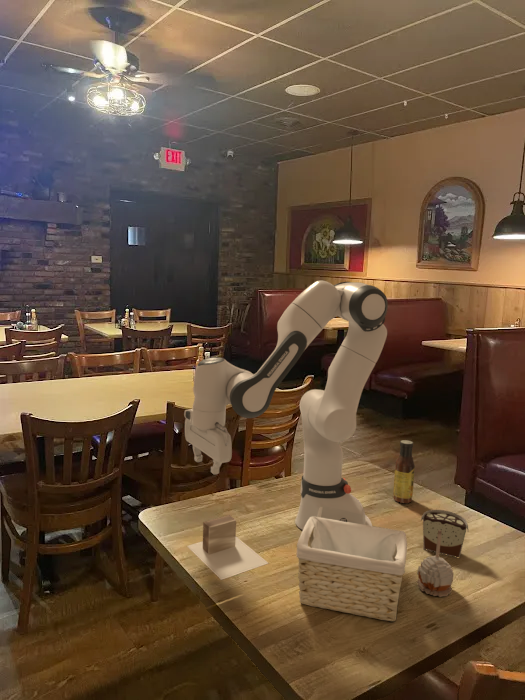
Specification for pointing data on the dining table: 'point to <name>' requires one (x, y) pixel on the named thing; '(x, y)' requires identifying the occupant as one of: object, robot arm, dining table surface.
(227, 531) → the walnut block
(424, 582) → the candy apple
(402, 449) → the sauce bottle
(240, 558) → the white rectangular sheet
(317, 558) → the storage basket
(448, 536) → the food container
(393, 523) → the dining table surface
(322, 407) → the robot arm
